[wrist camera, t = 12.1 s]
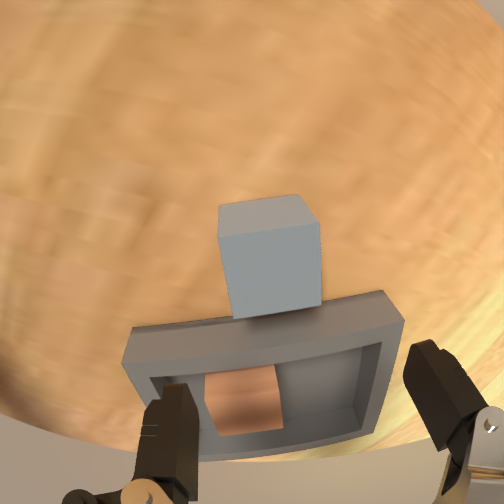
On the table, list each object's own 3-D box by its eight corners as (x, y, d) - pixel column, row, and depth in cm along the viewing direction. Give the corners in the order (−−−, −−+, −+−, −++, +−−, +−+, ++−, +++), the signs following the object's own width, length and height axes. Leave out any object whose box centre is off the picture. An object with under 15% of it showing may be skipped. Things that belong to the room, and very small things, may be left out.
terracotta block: (206, 350, 24) (204, 400, 19) (269, 341, 24) (279, 391, 19) (218, 389, 26) (219, 436, 21) (275, 381, 26) (283, 427, 21)
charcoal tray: (132, 327, 23) (121, 363, 20) (382, 289, 23) (404, 319, 20) (185, 432, 30) (183, 462, 27) (362, 405, 31) (373, 432, 27)
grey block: (219, 205, 20) (217, 237, 15) (297, 194, 20) (319, 222, 15) (231, 274, 22) (233, 319, 17) (302, 263, 22) (321, 304, 17)
